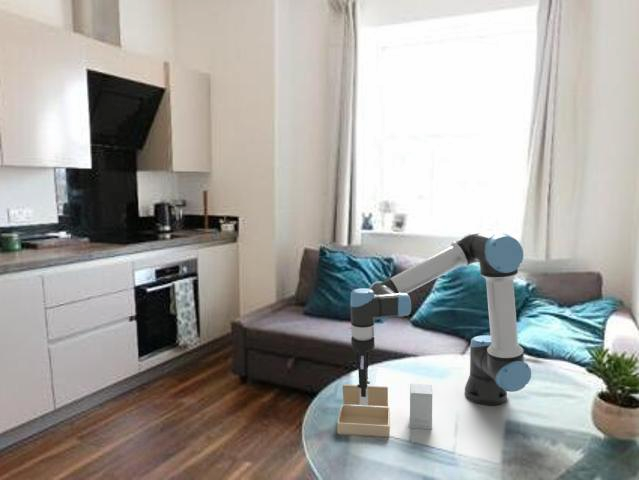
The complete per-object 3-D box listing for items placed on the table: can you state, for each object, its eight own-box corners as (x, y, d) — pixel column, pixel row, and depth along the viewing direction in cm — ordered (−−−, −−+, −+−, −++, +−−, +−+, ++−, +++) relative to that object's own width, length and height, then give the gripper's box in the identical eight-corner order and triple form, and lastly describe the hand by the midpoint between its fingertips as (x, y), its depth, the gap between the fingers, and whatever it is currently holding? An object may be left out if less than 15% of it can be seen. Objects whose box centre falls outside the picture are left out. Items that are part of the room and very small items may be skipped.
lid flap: (387, 406, 166) (387, 405, 167) (387, 387, 164) (387, 386, 164) (343, 404, 169) (343, 403, 169) (342, 385, 166) (342, 384, 167)
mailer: (389, 418, 167) (389, 407, 166) (389, 437, 155) (389, 426, 155) (341, 415, 170) (341, 404, 169) (337, 434, 158) (337, 423, 157)
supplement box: (432, 430, 159) (432, 394, 157) (409, 428, 161) (409, 392, 159) (431, 418, 166) (432, 384, 164) (410, 416, 168) (410, 382, 166)
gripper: (353, 329, 162) (354, 394, 166) (349, 343, 149) (350, 413, 153) (375, 329, 161) (376, 395, 165) (373, 344, 148) (374, 414, 152)
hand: (363, 403), depth 159 cm, fingers closed
